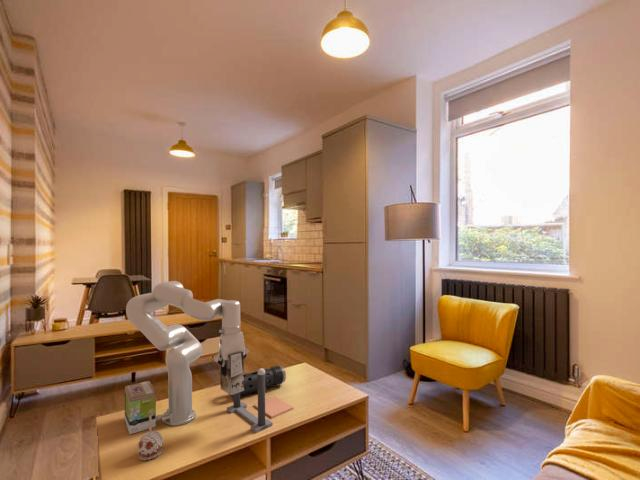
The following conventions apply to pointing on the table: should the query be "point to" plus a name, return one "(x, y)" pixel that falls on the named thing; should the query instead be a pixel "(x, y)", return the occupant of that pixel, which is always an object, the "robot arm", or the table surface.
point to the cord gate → (258, 422)
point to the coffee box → (233, 374)
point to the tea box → (139, 406)
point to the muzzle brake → (272, 378)
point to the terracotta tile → (275, 407)
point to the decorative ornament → (150, 443)
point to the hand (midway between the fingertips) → (232, 372)
